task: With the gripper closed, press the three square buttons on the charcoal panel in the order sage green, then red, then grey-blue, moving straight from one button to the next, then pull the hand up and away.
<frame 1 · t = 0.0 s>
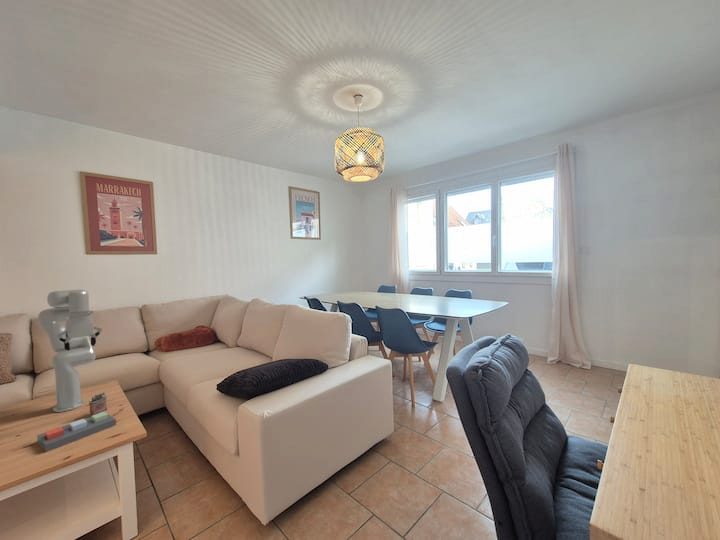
hand: (80, 347, 151), 37 cm above the table, tool pointing down, fingers open, 9 cm apart
red button: (54, 434, 131), point 3 cm above the table, slide at 0.0 cm
sage button: (100, 418, 145), point 3 cm above the table, slide at 0.0 cm
lighter: (98, 413, 157), on the table
bluegrey button: (78, 426, 138), point 3 cm above the table, slide at 0.0 cm
button panel: (78, 433, 138), on the table
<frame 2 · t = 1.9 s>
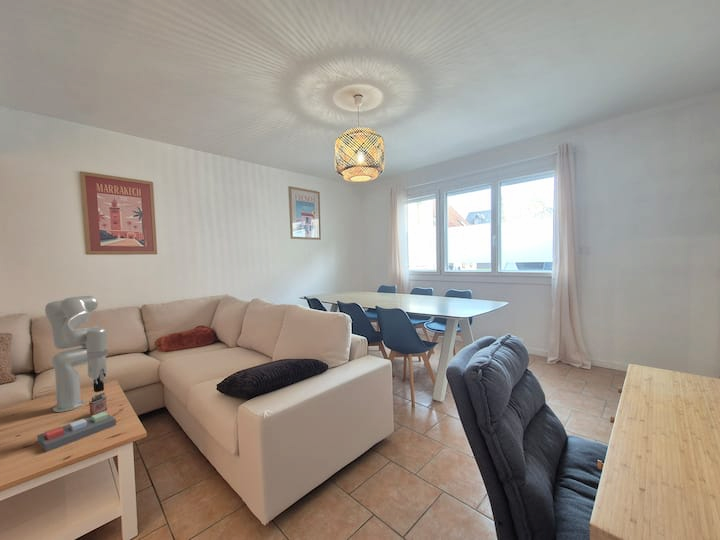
hand: (98, 390, 145), 17 cm above the table, tool pointing down, fingers closed
nothing on the table moved.
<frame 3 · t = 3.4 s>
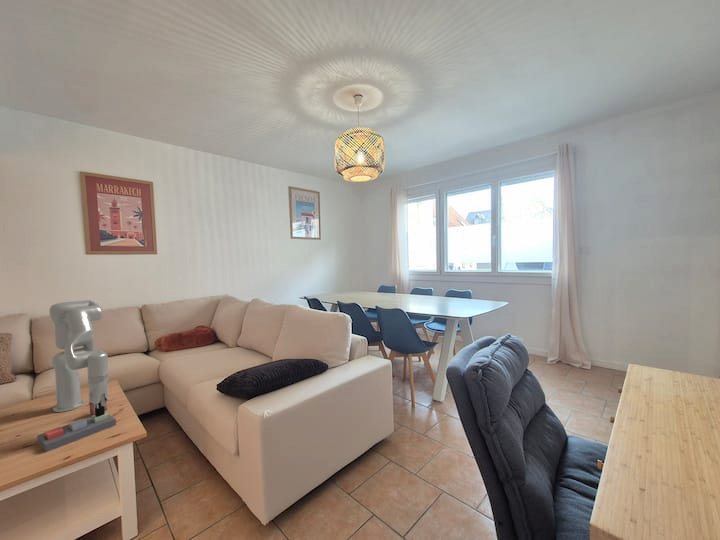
hand: (100, 415, 145), 5 cm above the table, tool pointing down, fingers closed
sage button: (100, 418, 145), point 3 cm above the table, slide at 0.1 cm, touching gripper
everything else where it was.
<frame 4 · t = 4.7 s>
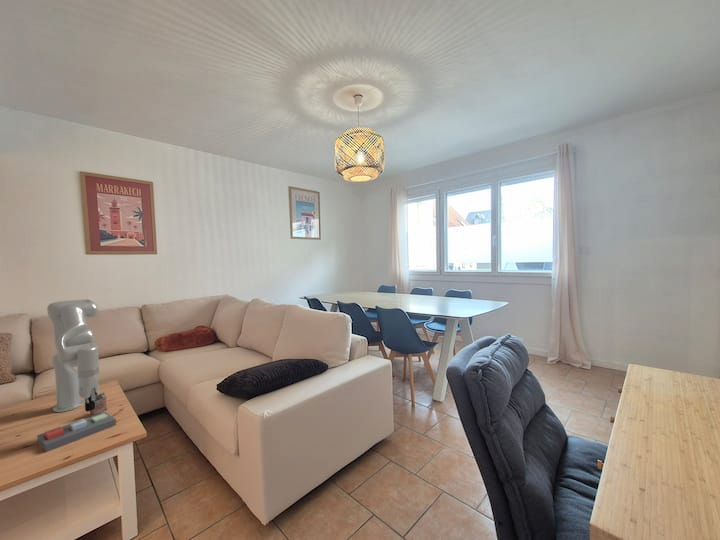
hand: (90, 409, 142), 9 cm above the table, tool pointing down, fingers closed
sage button: (100, 420, 145), point 2 cm above the table, slide at 0.9 cm
everything else where it was.
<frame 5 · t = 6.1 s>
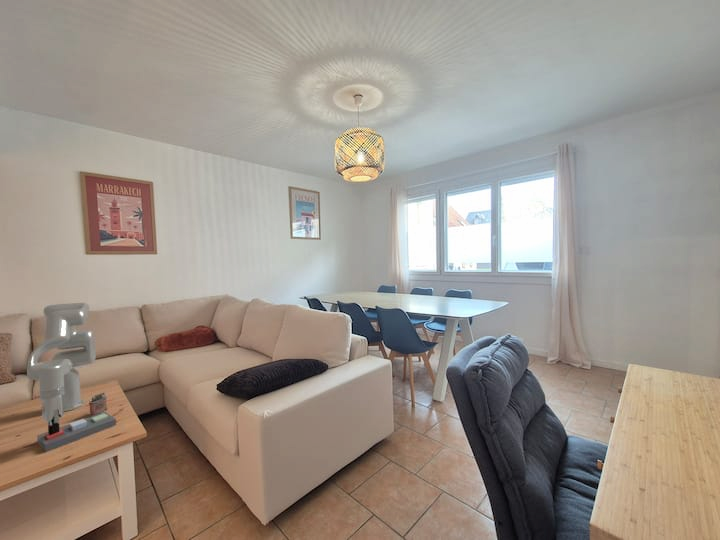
hand: (54, 432, 131), 4 cm above the table, tool pointing down, fingers closed
red button: (54, 436, 131), point 3 cm above the table, slide at 0.8 cm, touching gripper
everything else where it was.
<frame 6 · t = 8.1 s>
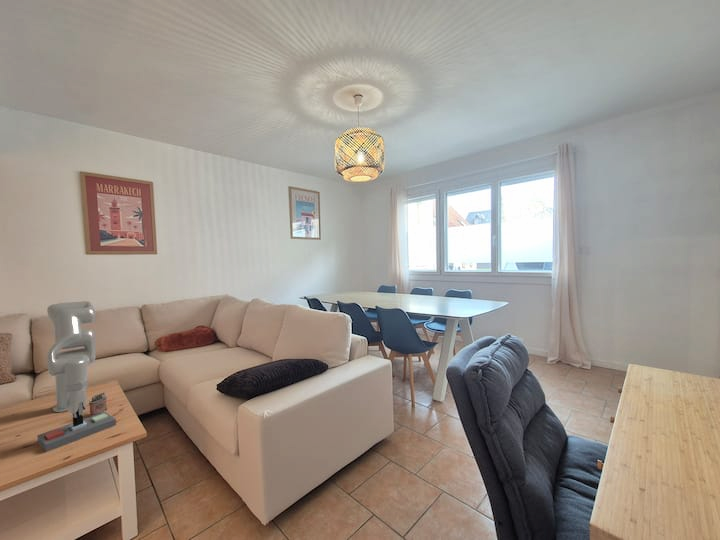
hand: (78, 424, 138), 4 cm above the table, tool pointing down, fingers closed
red button: (54, 436, 131), point 2 cm above the table, slide at 0.9 cm
bluegrey button: (78, 427, 138), point 2 cm above the table, slide at 0.9 cm, touching gripper
everything else where it was.
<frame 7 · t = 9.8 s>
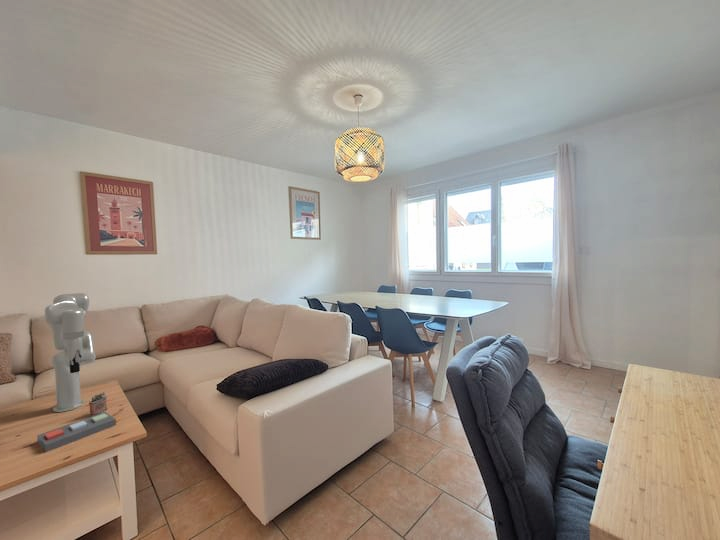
hand: (74, 372, 145), 27 cm above the table, tool pointing down, fingers closed
bluegrey button: (78, 428, 138), point 2 cm above the table, slide at 0.9 cm
everything else where it was.
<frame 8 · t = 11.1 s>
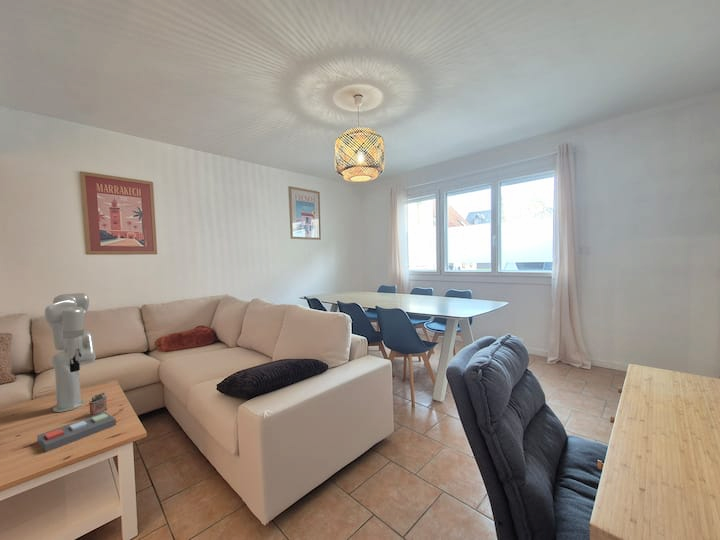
hand: (74, 371, 145), 27 cm above the table, tool pointing down, fingers closed
nothing on the table moved.
at the end: sage button slide at 0.9 cm; red button slide at 0.9 cm; bluegrey button slide at 0.9 cm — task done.
